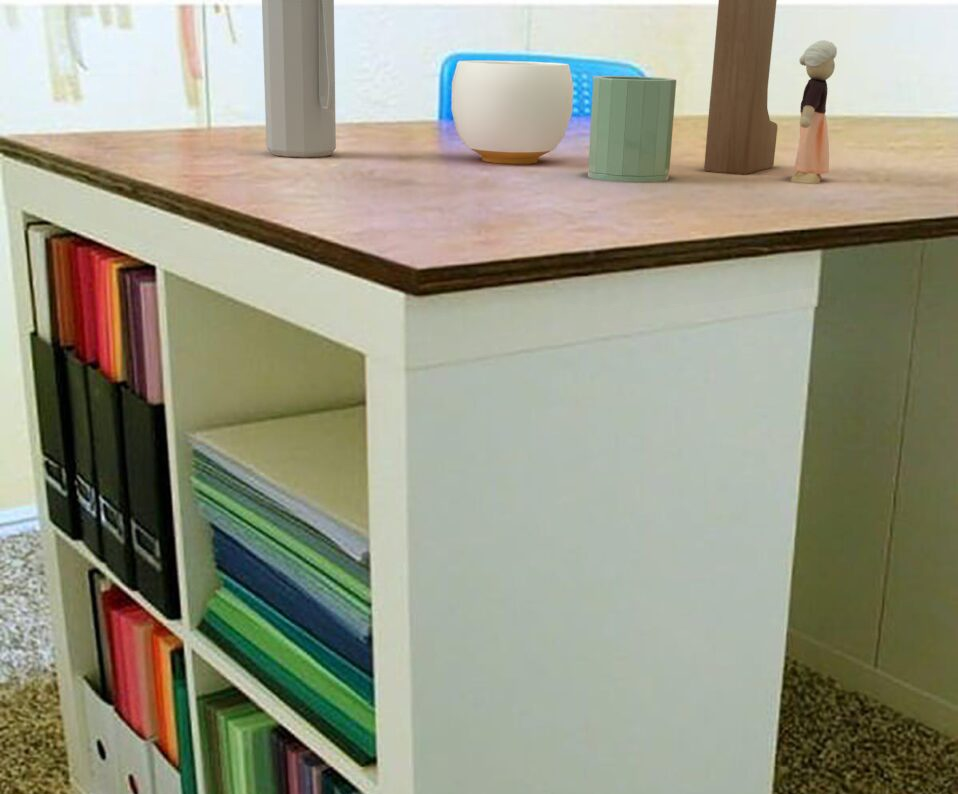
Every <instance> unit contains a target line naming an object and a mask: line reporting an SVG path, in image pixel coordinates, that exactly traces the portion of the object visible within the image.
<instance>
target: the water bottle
mask: <svg viewBox="0 0 958 794" xmlns="http://www.w3.org/2000/svg"><path fill="white" fill-rule="evenodd" d="M261 13H262V14H261V18H262V46H263V47H262V50H263V51H262V52H263V76H264V77H263V79H264V83H263V84H264V108H265V109H264V113H265V115H264V116H265V143H266V144H265V145H266V150H267V151H268V152H269V153H270V154H271V155H273V156H276V157H279V158H280V157H282V158H295V159H296V158H297V159H310V158H311V159H312V158H313V159H314V158H326V157H329V156H331V155H332V154H333V153H334V152H335V150H336V148H337V141H336V140H337V139H336V138H337V136H336V135H337V134H336V133H337V132H336V131H337V130H336V68H335V67H336V62H335V61H336V59H335V58H336V57H335V0H261Z"/></svg>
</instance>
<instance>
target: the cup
mask: <svg viewBox="0 0 958 794" xmlns="http://www.w3.org/2000/svg"><path fill="white" fill-rule="evenodd" d="M573 102H574V82H573V78H572V72H571V67H570V65H569V64H568V63H563V62H562V63H561V62H545V61H523V60H478V59H477V60H458V61H457V63H456V66H455V70H454V74H453V77H452V81H451V105H450V106H451V107H450V108H451V114H452V117H453V121H454V125H455V129H456V134H457V135H458V136H459V138H460V140H461V141H462V143H463V144H464V146H465V147H466V148H467V149H469V150H471V151H474V152H475V153H477V154H479V155H480V156H481V160H482V161H483V162H485V163H490V164H502V165H530V164H531V165H532V164H537V163H538V162H539V158H540V157H542V156H544V155H546V154H548V153H551V152H553V151H554V150H556V148H557V147H558V146H559V145H560V143H561V142H562V141H563V139H564V137H565V136H566V133H567V130H568V127H569V124H570V121H571V117H572V115H573V107H574V106H573V104H574V103H573Z"/></svg>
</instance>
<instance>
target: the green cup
mask: <svg viewBox="0 0 958 794" xmlns="http://www.w3.org/2000/svg"><path fill="white" fill-rule="evenodd" d="M591 87H592V89H591V107H590V125H589V127H590V128H589V143H588V148H589V149H588V160H587V162H588V163H587V170H588V171H587V177H588V178H591V179H593V180H599V181H608V182H621V183H658V182H665V181H668V180H669V175H670V169H671V157H672V144H673V142H672V141H673V131H674V116H675V106H676V105H675V104H676V103H675V102H676V90H677V79H675V78H669V77H656V76H634V75H633V76H632V75H631V76H630V75H629V76H628V75H598V76H596V75H595V76H593V77H592V86H591Z"/></svg>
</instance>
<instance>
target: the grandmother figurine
mask: <svg viewBox="0 0 958 794" xmlns="http://www.w3.org/2000/svg"><path fill="white" fill-rule="evenodd" d="M837 54H838V48H837V46H836V45H835V43H834V42H833V41H829V40H825V39H824V40H823V39H822V40H817V41H816V42H814V43H812V44H810V45H809V46H808V48H806V49H805V50H804V52H803V54H802V55H801V56H800V57H799V60H798V61H799V64H800V65H801V66H805V69H806V74H807V76H808V77H809V80H808V81H807V83H806V84H805V86H804V90H803V93H802V94H803V95H802V100H801V102H800V119H799V139H798V148H797V154H796V158H795V163H794V171H797V172H795V173H794V175H793V176H792V177H791V178H790V182H793V183H799V184H809V185H810V184H811V185H812V184H821V181H822V180H823V179H822V175H825V174H828V173H829V172H830V144H829V143H830V141H829V131H828V122H827V116H826V112H827V108H826V107H827V100H828V83H827V80H828V79H830V78H831V77H832V75H833V73H834V72H835V68H836V63H835V59H836V56H837Z"/></svg>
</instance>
